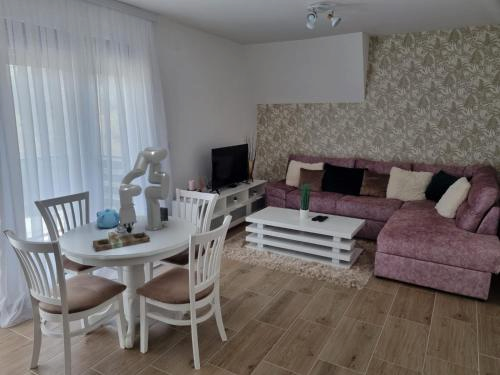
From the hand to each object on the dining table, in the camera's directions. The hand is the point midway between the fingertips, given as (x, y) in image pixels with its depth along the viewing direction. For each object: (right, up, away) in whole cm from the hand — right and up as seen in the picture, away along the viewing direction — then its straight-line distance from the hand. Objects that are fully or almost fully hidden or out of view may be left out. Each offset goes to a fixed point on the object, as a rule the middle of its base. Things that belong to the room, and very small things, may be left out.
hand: (129, 232), depth 236 cm
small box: (+9, +3, +47) cm, 48 cm away
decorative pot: (-27, 0, +33) cm, 42 cm away
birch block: (-8, -4, -7) cm, 11 cm away
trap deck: (-4, -7, -3) cm, 9 cm away
